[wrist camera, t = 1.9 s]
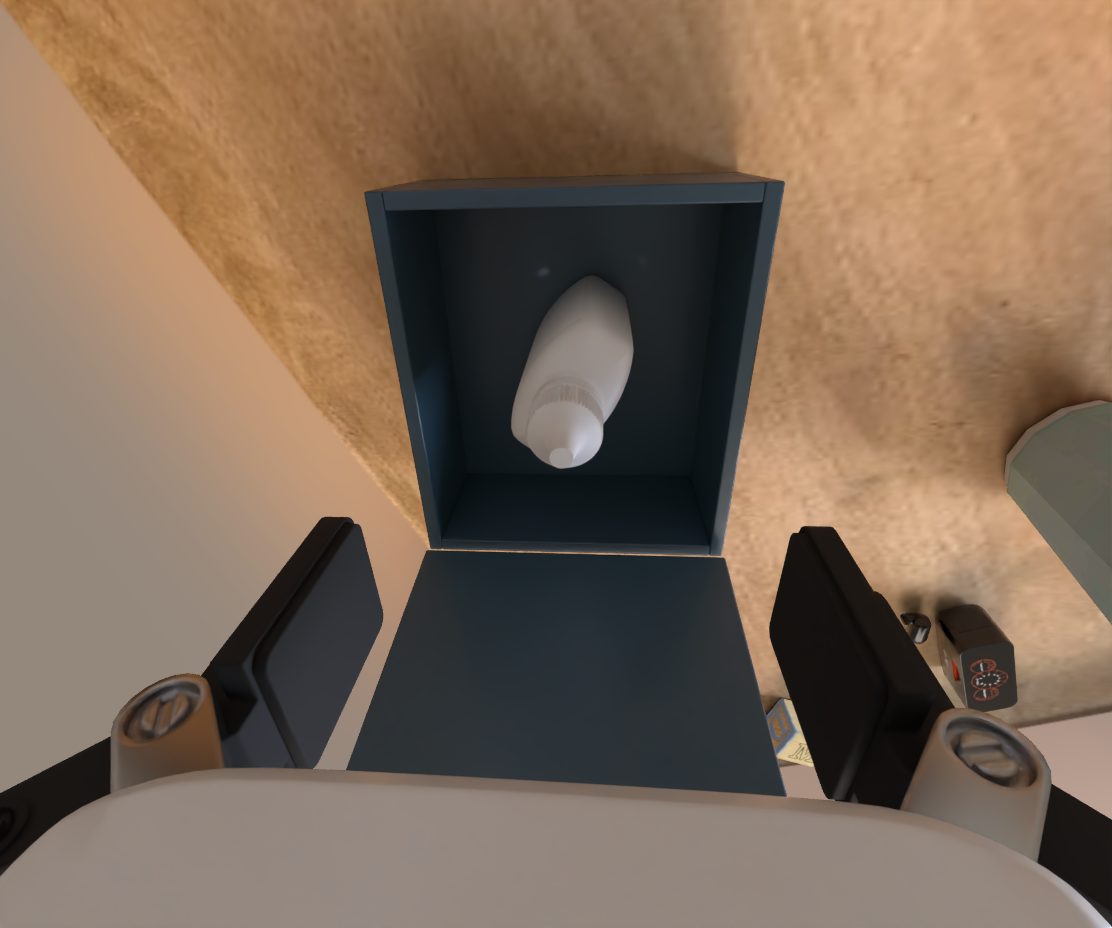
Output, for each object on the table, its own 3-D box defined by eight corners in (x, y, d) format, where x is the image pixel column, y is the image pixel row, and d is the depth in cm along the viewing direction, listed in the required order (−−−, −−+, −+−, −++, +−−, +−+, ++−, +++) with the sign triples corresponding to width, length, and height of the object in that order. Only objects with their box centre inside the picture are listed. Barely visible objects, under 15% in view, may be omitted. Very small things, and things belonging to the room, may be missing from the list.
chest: (420, 180, 23) (363, 191, 18) (738, 172, 22) (786, 181, 17) (460, 475, 31) (430, 549, 25) (698, 479, 30) (721, 556, 24)
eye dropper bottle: (503, 319, 26) (439, 437, 15) (609, 261, 24) (616, 349, 14) (548, 394, 27) (517, 544, 17) (649, 345, 26) (682, 478, 16)
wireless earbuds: (977, 588, 33) (1012, 629, 30) (985, 662, 36) (1017, 706, 33) (895, 608, 34) (922, 649, 31) (910, 677, 37) (935, 721, 34)
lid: (236, 1062, 12) (305, 1091, 15) (873, 1124, 11) (813, 1143, 14) (425, 549, 25) (442, 619, 28) (725, 556, 24) (710, 627, 27)
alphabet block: (781, 695, 39) (795, 734, 36) (820, 706, 39) (836, 746, 37) (760, 718, 41) (771, 758, 38) (798, 729, 41) (811, 769, 38)
